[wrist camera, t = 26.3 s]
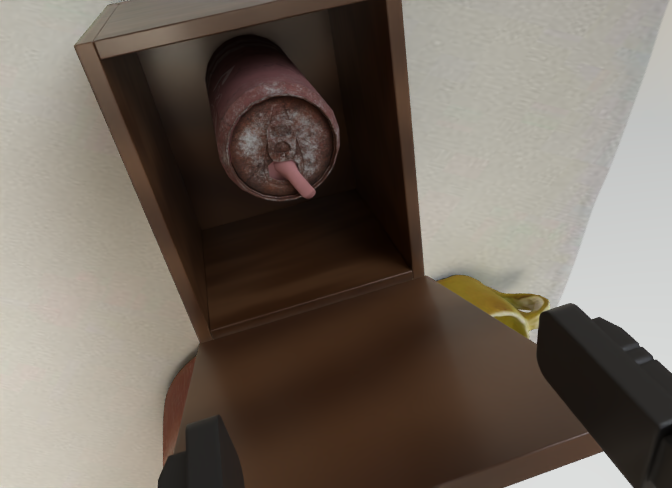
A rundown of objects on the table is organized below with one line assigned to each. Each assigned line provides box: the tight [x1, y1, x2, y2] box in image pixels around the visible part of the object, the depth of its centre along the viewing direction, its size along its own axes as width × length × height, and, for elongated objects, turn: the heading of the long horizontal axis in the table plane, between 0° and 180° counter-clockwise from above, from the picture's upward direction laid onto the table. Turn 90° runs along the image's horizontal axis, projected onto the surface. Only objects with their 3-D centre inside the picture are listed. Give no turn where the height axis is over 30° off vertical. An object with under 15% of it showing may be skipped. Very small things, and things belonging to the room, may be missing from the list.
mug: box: [436, 275, 550, 339], centre depth 51 cm, size 12×10×10 cm
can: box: [205, 35, 340, 201], centre depth 31 cm, size 6×6×14 cm
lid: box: [173, 276, 603, 488], centre depth 24 cm, size 18×15×5 cm
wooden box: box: [74, 0, 424, 343], centre depth 33 cm, size 18×15×13 cm
